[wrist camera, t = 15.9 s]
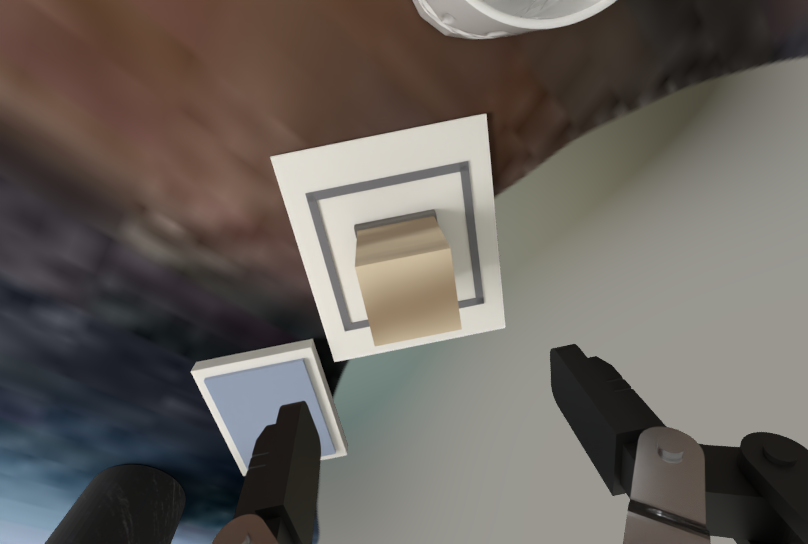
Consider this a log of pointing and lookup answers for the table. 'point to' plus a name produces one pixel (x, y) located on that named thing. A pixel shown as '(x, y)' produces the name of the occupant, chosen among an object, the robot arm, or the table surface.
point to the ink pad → (268, 395)
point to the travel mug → (124, 509)
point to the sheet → (389, 197)
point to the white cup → (504, 15)
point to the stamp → (406, 277)
